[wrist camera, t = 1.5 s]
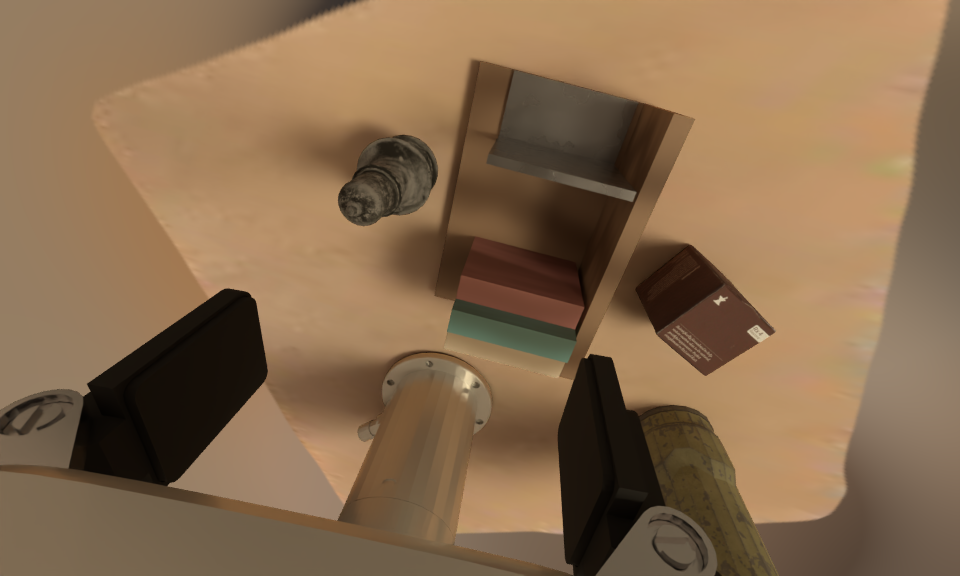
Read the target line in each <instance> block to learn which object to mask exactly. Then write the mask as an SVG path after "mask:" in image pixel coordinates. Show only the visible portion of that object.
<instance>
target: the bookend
mask: <svg viewBox="0 0 960 576" xmlns="http://www.w3.org/2000/svg"><path fill="white" fill-rule="evenodd" d="M638 103H639V102H635V101H632V100H628V99H624V98H620V97H616V96H612V95H609V94H605V93H601V92H597V91H593V90H589V89H586V88H582V87H578V86H574V85H570V84H567V83H563V82H559V81H555V80H551V79H547V78H544V77H540V76H536V75H532V74H528V73H524V72H521V71H517V70H514V74H513V78H512V83H511V87H510V91H509V95H508V100H507V104H506V108H505V112H504V117H503V121H502V125H501V129H500V134H499V136H498V138H497V140H496V141H495V143H494V145H493V147H492V148H491V150H490V152H489V154H488V158H487V162H486V164H489V165H493V166H497V167H501V168H504V169H508V170H512V171H516V172H520V173H524V174H527V175H531V176H535V177H539V178H543V179H547V180H550V181H554V182H558V183H562V184H566V185H570V186H573V187H577V188H581V189H585V190H589V191H593V192H596V193H600V194H604V195H608V196H612V197H616V198H619V199H623V200H627V201H631V202H633V199H634V197H635V195H636V191H635V190H634V188H633V187H632V186H631V185H630V183H629V182H628V181H627V180H626V179H625V177H624V176H623V175H622V174H621V172H620V171H619V170H618V169H617V167H616V166H615V165H614V164H615V162H616V159H617V157H618V154H619V151H620V149H621V146H622V144H623V141H624V139H625V136H626V134H627V131H628V128H629V126H630V123H631V121H632V118H633V116H634V113H635V110H636V108H637V105H638Z"/></svg>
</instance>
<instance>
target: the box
mask: <svg viewBox="0 0 960 576" xmlns="http://www.w3.org/2000/svg"><path fill="white" fill-rule="evenodd" d="M636 291H637V293H638V295H639V298H640V300H641V302H642V304H643V306H644V308H645V310H646V312H647V314H648V316H649V319H650V321H651V323H652V325H653V327H654V329H655V332H656V334H657V335H658V336H659V337H660V338H661V339H662V340H663V341H664V342H665V343H667V344H668V345H669V346H670V347H671V348H672V349H674V350H675V351H676V352H677V353H678V354H680V355H681V356H682V357H683V358H684V359H685V360H687V361H688V362H689V363H690V364H691V365H692V366H694V367H695V368H696V369H697V370H699V371H700V372H701V373H702V374H703V375H705V376H707V375H708V374H710V373H712V372H713V371H715V370H716V369H718V368H720V367H721V366H723V365H724V364H726V363H727V362H729V361H731V360H732V359H734V358H735V357H737V356H739V355H740V354H742V353H743V352H745V351H747V350H748V349H750V348H752V347H753V346H755V345H757V344H758V343H760V342H762V341H763V340H765V339H766V338H768V337H769V336H770V335H772V334H773V333H775V332H776V330H775V329H774V328H773V327H772V326H771V325H770V324H769V323H768V322H767V321H766V320H765V319H764V318H763V317H762V316H761V315H760V314H759V313H758V311H757V310H756V309H755V308H754V307H753V306H752V305H751V304H750V303H749V302H748V301H747V300H746V299H745V298H744V297H743V296H742V294H741V293H740V292H739V291H738V290H737V289H736V288H735V287H734V285H733V284H732V283H731V282H730V281H729V280H728V279H727V278H726V277H725V276H724V275H723V274H722V273H721V272H720V271H719V270H718V269H717V268H716V267H715V266H714V265H713V264H712V263H711V262H710V261H708V260H707V259H706V258H705V257H704V256H703V255H702V254H701V253H700V252H699V251H698V250H697V249H696V248H694V247H693V246H692V245H689V246H687V247H686V248H685V249H684V250H683V251H681V252H680V253H679V254H678V255H676V256H675V257H674V258H673V259H672V260H670V261H669V262H668V263H667V264H665V265H664V266H663V267H662V268H661V269H659V270H658V271H657V272H656V273H654V274H653V275H652V276H650V277H649V278H648V279H647V280H645V281H644V282H643V283H642V284H641V285H639V286H638V287H637V288H636Z"/></svg>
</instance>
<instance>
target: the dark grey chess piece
mask: <svg viewBox="0 0 960 576" xmlns="http://www.w3.org/2000/svg"><path fill="white" fill-rule="evenodd" d="M437 176H438V166H437V162H436V158H435V156H434V154H433V152H432V151H431V149H430V148H429V147H428V146H427V145H426V144H425V143H424V142H422V141H421V140H420V139H418V138H415V137H413V136H408V135H400V136H395V137H393V138H389V137H388V138H382V139H378V140H376V141H374V142H372V143H370V144H369V145H368V146H367V147H366V148H365V149H364V150H363V152H362V154H361V156H360V158H359V160H358V165H357V171H356V172H355V174H354V176H353V178H352V180H351V181H350V182H348V183H346V184H345V185H344V186H343V187H342V189H341V191H340V193H339V196H338V205H339V208H340V210H341V212H342V214H343V215H344V216H345V217H346V218H347V219H348V220H349V221H350V222H352V223H354V224H356V225H359V226H368V225H371V224H374V223H376V222H377V221H378V220H379V219H380V218H381V217H387V216H390V215H392V214H393V215H406V214H410V213H412V212H414V211H417V210H418V209H419V208H420V207H421V206H423V205H424V203H425V202H426V200H427V199H428V197H429V194H430V191H431V189H432V188H433V186H434V185H435V183H436V179H437Z"/></svg>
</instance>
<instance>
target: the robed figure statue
mask: <svg viewBox="0 0 960 576" xmlns="http://www.w3.org/2000/svg"><path fill="white" fill-rule="evenodd" d="M639 419H640V422H641V425H642V429H643V432H644V435H645V439H646V442H647V445H648V449H649V452H650V455H651V459H652V462H653V465H654V469H655V472H656V475H657V479H658V482H659V485H660V489H661V492H662V495H663V499H664V502H665V505H666V507H670V508H673V509H675V510H678V511H680V512H682V513H684V514H685V515H687V516H688V517H690V518H691V519H692V520H693V521H695V522H696V523H697V524H698V525H699V526H700V527H701V528H702V529H703V531H704V532H705V533H706V535H707V536H708V538H709V539H710V541H711V543H712V545H713V547H714V549H715V552H716V557H717V569H716V571H718V572H719V573H720V574H721V575H722V576H779V575H778V573H777V570H776V568H775V566H774V564H773V562H772V560H771V558H770V556H769V554H768V552H767V550H766V547H765V546H764V543H763V541H762V539H761V537H760V535H759V533H758V531H757V529H756V527H755V524H754V522H753V520H752V518H751V516H750V514H749V512H748V510H747V508H746V506H745V504H744V501H743V499H742V497H741V495H740V493H739V491H738V489H737V487H736V477H735V469H734V467H733V465H732V462H731V460H730V458H729V456H728V454H727V452H726V450H725V448H724V446H723V444H722V443H721V441H720V439H719V438H718V436H716V435H715V434H714V430H713V428H712V426H711V424H710V422H709V421H708V419H707V417H705V416H704V415H703V414H701V413H700V412H699V411H697V410H694V409H691V408H688V407H684V406H674V405H672V406H664V407H658V408H655V409H652V410H650V411H647V412H645V413H644V414H642V415H641V416H639Z"/></svg>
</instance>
